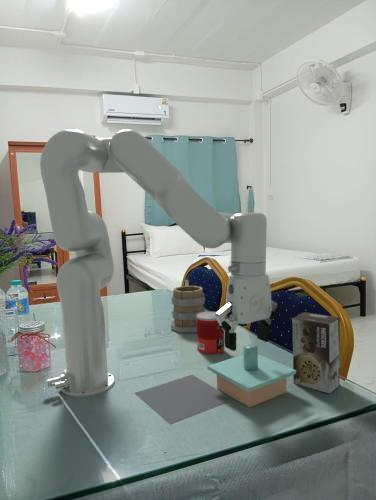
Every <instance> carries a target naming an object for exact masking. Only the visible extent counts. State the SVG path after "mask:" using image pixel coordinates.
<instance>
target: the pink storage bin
mask: <svg viewBox="0 0 376 500" xmlns="http://www.w3.org/2000/svg"><path fill="white" fill-rule="evenodd" d="M216 389H217V390H219V391H220V392H222V393H224V394H225V395H227V396H229V397H230V398H232V399H235V400H236V401H237V402H239V403H241V404H243V405H245V406H246V407H248V408H249V409H250V408H252V407H255V406H258V405H259V404H261V403H264V402H266V401H269V400H271V399H275V398H276V397H279V396H281V395H284V394H286V393H287V378H284V379H281V380H279V381H276V382H274V383H271V384H268V385H266V386H263V387H261V388H258V389H256V390H253V391H250V392H248V391H246V390H244V389H242V388H240V387H239V386H237V385H235V384H233V383H231V382H230V381H228V380H226V379H224V378H222V377H221V376H219V375H217V374H216Z"/></svg>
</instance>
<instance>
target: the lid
mask: <svg viewBox="0 0 376 500" xmlns="http://www.w3.org/2000/svg"><path fill="white" fill-rule="evenodd" d="M258 347H259V346H258V345H256V344H252V343H251V344H250V343H247V344H244V345H243V346H242V349H243V350H242V351H243V352H242V354H240V355H239V356H235V357H232V358H228V359H225V360H222V361H219V362H216V363H211V364H209V365H206V366H207V370H208V371H210V372H212V373H213V374H215V375H216V376H217V375H219V376H221V377H222V378H224V379H226V380H228V381H230V382H231V383H233V384H235V385H237V386H239V387H240V388H242V389H244V390H246V391H248V392H250V391H253V390H256V389H258V388H261V387H263V386H266V385H268V384H271V383H274V382H276V381H279V380H281V379H284V378H286V379H287V378H289V377H291V376H292V377H293V375H294V374H296V370H294V369H293V368H292V367H290V366H287V365H285V364H282V363H280V362H277V361H275V360H273V359H270V358H268V357H266V356H263V355H261V354H259V351H258Z"/></svg>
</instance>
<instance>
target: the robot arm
mask: <svg viewBox="0 0 376 500" xmlns="http://www.w3.org/2000/svg"><path fill="white" fill-rule="evenodd" d="M39 165H40V166H39V167H40V175H41V179H42V183H43V187H44V192H45V197H46V202H47V203H46V204H47V208H48V215H49V219H50V226H51V230H52V235H53V239H54V242H55V244H56V245H57V247H58V248H60V249H61V250H62V251H66V252H70V253H71V252H75V253H74V254H75V257H73V258H70V259H69V260H66V261H65V262H64V263H63V264H62V265H61V266H60V268H59V270H58V271H57V274H56V279H55V280H56V283H55V284H56V289H57V292H58V297H59V300H60V306H61V315H62V324H63V326H62V328H63V335H64V336H63V338H64V340H63V341H64V352H65V366H66V367H65V369H63V370H62V373H61V374H59V375H58V376H57V377H51V378H47V379H45V384H46V388H51V387H54V389H55V390H58V389H60V390H61V392H62V393H63V394H64V395H66V396H68V397H75V398H85V397H92V396H95V395H99V394H102V393H104V392H106V391H108V390H110V389H111V388H112V387H114V385H115V377H114V375H113V374H112V373H110V372H108V355H107V339H106V338H107V337H106V323H105V309H104V305H103V300H102V298H101V293H100V290H102V289H104V288H105V287H107V285H109V284H110V283H111V281H112V279H113V277H114V273H115V266H114V265H115V263H114V259H113V254H112V249H111V242H110V237H109V233H108V227H107V226H106V223H105V221H104V220H103V218H102V216H100V215H99V214H98V213H97V212H94V211H92V210H89V209H88V205H87V201H86V195H85V189H84V186H83V185H82V182H81V180H80V176H79V171H80V172H81V171H82V172H85V173H86V172H87V173H94V174H103V173H104V174H105V173H106V174H107V173H108V174H110V173H111V174H112V173H113V174H115V173H118V174H119V173H125V174H126V175H127V176H129V178H131V179H132V181H134V182H135V183H136V184H137V185H138V186H139V187H140V188H141V189H142V190H144V191H145V192H146V193H147V194H148V196H150V197H151V198H152V199H153V201H155V203H156V204H157V205H158V206H159V207H160V208H161V209H162V211H164V212H165V213H166V215H168V217H169V218H171V220H172V221H173V222H174V223H175V224H176V225H177V226H178V227H179V228H181V229H182V231H184V232H185V233H186V234H187V235H188V236H189V237H190V238H191V239H192V240H193V241H195V242H196V244H198V245H199V246H202V247H204V249H205V248H206V249H217V248H220V247H221V246H223V245H224V244H230V247H231V248H230V259H231V261H230V265H229V266H228V267H227V270H228V272H229V273H230V275H229V277H228V280H227V284H226V285H227V288H226V293H225V294H226V295H225V305H224V306H222V307H221V308H220V309H219V310H217V311H216V312H217V313H216V314H215V317H216V319H217V321H218V324H219V325H220V326H221V327H222V329H223V330H224V348H225V349H229V350H230V351H233V352H234V351H236V350H237V333H236V332H235V330H236V329H237V327H238V326H239V325H246V324H249V323H251V324H252V323H254V322H257V327H256V330H257V331H256V334H257V335H256V339H258V340H260V341H262V342H265V343H268V342H269V341H270V325H271V324H272V320H273V318H274V316H275V315H276V314H275V313H276V309H277V307H278V303H277V302H276V301H274V300H272V291H271V282H270V277H269V275H268V274H267V272H266V271H267V270H266V269H267V225H268V223H267V217H266V215H265V214H263V213H261V212H238V213H229V212H228V213H227V212H224V211H223V212H221V211H218V210H216V209H215V208H214V207H213V206H212V205H210V204H209V203H208V202H207V201H206V199H204V198H203V197H202V196H201V195H200V194H199V193H198V192H197V191H196V190H195V189H194V188H193V187H192V186H191V184H190V183H189V182H188V181H187V179H186V177H185V176H184V174H183V173H182V172H181V170H180V169H179V168H178V167H177V166H175V165H174V164H173V163H172V161H170V160H168V158H166V156H164V155H163V154H162V153H161V152H160V151H159V150H158V149H157V148H156V147H155V146H154V145H153V144H152V142H151V141H150V140H149V139H148V138H147V137H145V136H144V135H143V134H141V133H139V132H138V131H136V130H133V129H121V130H119V131H117V132H116V133H114V135H112V137H107V138H106V137H104V138H103V137H100V138H99V137H96V136H93V135H92V134H89V133H86V132H85V131H82V130H78V129H73V128H72V129H71V128H70V129H69V128H68V129H64V130H63V129H62V130H61V131H58V132H57V133H55V134H53V135H52V136H51V137H50V138H49V139H48V140H47V142H46V143H45V145H44V147H43V149H42V151H41V154H40V161H39Z"/></svg>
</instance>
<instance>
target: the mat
mask: <svg viewBox="0 0 376 500" xmlns="http://www.w3.org/2000/svg"><path fill="white" fill-rule="evenodd" d="M134 395H136V397H138V398H139V399H140V400H142V401H143V402H144V404H146V405H147V406H148V407H150V408H151V409H152V410H153V411H154V412H156V414H158V415H159V416H160V417H161V418H162V419H163V420H165V421H166V423H168V424H169V425H173V424H175V423H178V422H180V421H183V420H185V419H189V418H190V417H191V418H192V417H193V416H196V415H198V414H201V413H203V412H206V411H208V410H211V409H214V408H216V407H219V406H221V405H224V404H227V403H229V402H231V401H234V398H233V397H231V396H229V395H228V394H226V393H224V392H223V391H221V390H219V389H218V388H215V387H213V386H212V385H210V384H209V383H208V382H205V380H202V379H201V378H199V377H197V376H196V375H194V374H190V375H187V376H183V377H180V378H177V379H175V380H171V381H168V382H163V383H162V384H159V385H155V386H151V387H149V388H146V389H142V390H138V391H137V392H134Z"/></svg>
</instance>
